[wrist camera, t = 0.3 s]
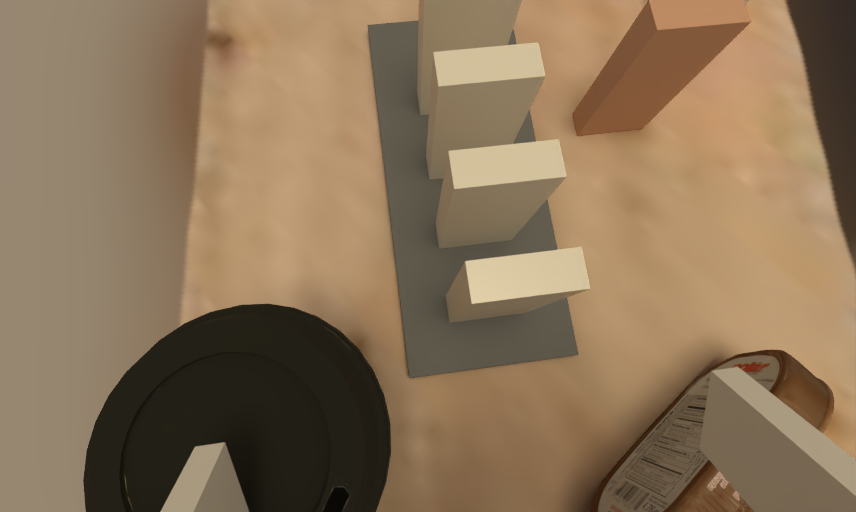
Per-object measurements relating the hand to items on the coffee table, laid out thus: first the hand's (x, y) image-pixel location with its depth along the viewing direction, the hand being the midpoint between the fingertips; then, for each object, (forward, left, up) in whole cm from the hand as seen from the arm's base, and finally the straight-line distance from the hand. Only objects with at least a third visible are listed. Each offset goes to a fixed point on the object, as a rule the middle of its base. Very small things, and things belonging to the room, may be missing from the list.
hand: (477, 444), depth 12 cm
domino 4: (+5, -4, -16) cm, 17 cm away
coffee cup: (0, +7, -17) cm, 19 cm away
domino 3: (+10, -4, -16) cm, 19 cm away
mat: (+14, -4, -17) cm, 22 cm away
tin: (-5, -14, -17) cm, 23 cm away
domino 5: (+18, -15, -17) cm, 29 cm away
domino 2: (+15, -4, -16) cm, 22 cm away
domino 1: (+20, -4, -16) cm, 26 cm away
